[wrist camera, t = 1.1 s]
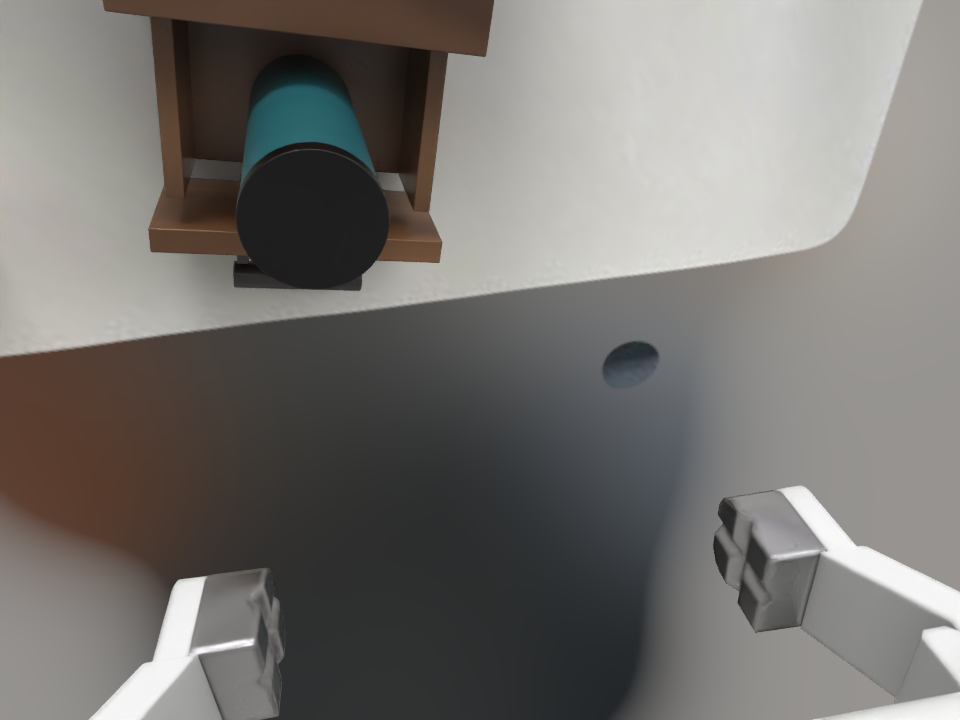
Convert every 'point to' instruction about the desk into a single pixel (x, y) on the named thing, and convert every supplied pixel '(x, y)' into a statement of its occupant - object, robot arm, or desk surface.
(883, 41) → the desk surface
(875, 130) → the desk surface
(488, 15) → the cabinet
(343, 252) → the tin
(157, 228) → the drawer
